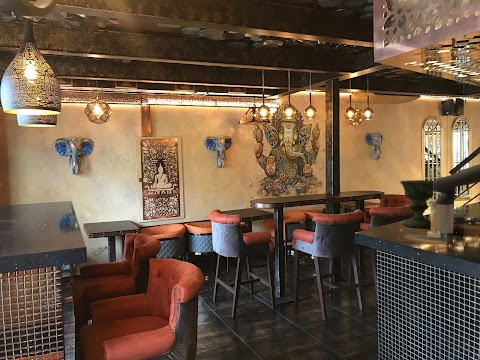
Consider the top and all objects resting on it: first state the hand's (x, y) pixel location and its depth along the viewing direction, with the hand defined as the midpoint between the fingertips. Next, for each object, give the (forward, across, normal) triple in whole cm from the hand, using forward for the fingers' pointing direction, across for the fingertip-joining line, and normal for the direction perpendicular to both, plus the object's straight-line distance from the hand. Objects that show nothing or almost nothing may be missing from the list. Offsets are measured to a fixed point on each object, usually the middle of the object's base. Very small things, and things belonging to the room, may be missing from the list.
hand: (455, 220), depth 209 cm
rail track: (+15, 0, +12) cm, 20 cm away
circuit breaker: (+2, -73, +12) cm, 74 cm away
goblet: (+17, -51, +12) cm, 55 cm away
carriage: (+10, 0, +9) cm, 14 cm away
